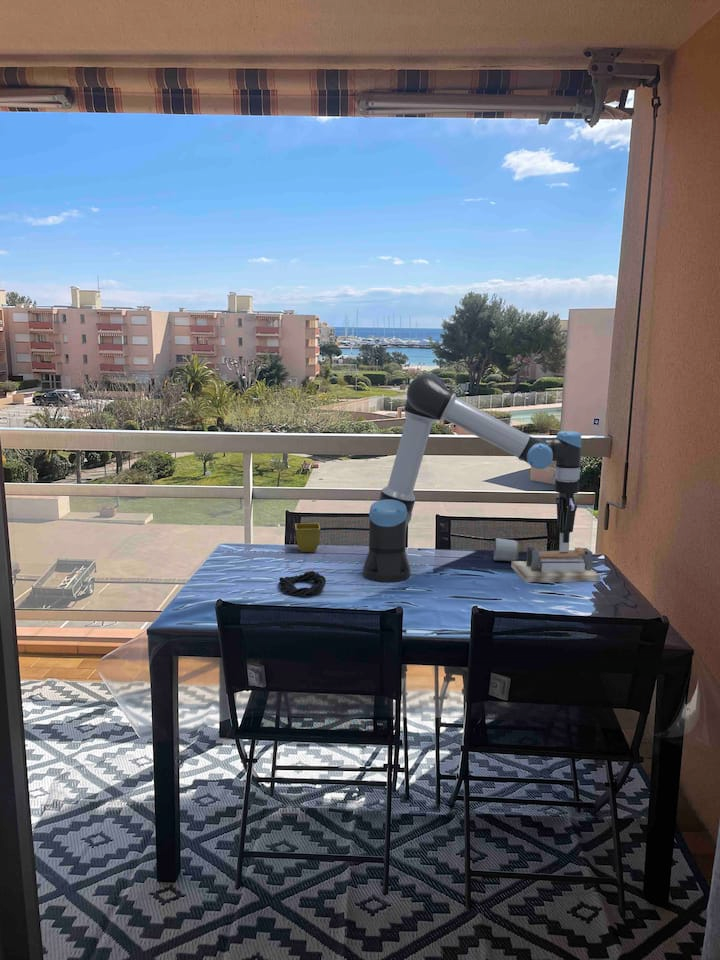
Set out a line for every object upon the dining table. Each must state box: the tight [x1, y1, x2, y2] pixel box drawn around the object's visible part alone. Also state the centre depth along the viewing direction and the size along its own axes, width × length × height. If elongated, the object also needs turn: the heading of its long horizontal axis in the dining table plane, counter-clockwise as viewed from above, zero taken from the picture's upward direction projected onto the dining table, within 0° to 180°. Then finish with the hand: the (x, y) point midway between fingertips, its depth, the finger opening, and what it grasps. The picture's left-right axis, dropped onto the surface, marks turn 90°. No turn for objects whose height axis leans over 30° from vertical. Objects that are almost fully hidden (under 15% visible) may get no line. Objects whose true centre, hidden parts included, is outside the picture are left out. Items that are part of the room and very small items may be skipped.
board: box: [510, 560, 601, 583], centre depth 245 cm, size 24×16×2 cm, turn 95°
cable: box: [278, 570, 327, 598], centre depth 225 cm, size 17×14×4 cm
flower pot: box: [294, 522, 321, 553], centre depth 266 cm, size 9×9×9 cm
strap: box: [530, 547, 585, 557], centre depth 243 cm, size 17×4×2 cm, turn 94°
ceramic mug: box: [493, 537, 520, 562], centre depth 260 cm, size 11×8×8 cm
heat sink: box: [525, 545, 593, 573], centre depth 244 cm, size 20×11×6 cm, turn 94°
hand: (563, 551), depth 243 cm, fingers closed
